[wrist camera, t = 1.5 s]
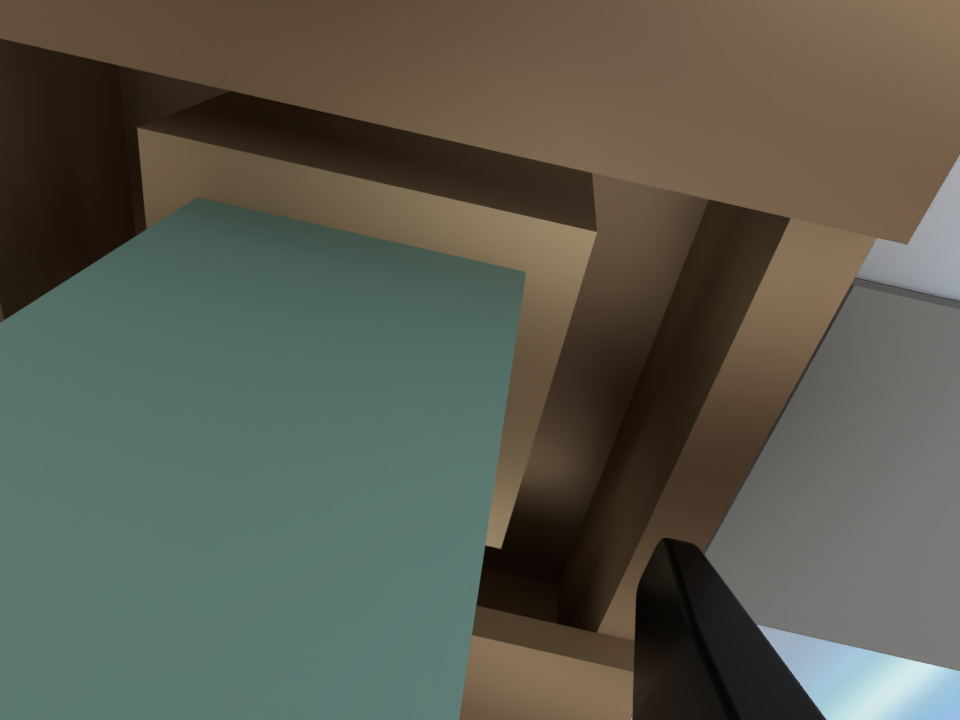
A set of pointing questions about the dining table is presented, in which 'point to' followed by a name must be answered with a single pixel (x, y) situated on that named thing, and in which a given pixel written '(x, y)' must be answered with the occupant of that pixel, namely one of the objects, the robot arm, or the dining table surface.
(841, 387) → the mat
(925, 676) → the dining table surface
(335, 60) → the crate
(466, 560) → the block
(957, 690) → the dining table surface
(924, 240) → the dining table surface
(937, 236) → the dining table surface
